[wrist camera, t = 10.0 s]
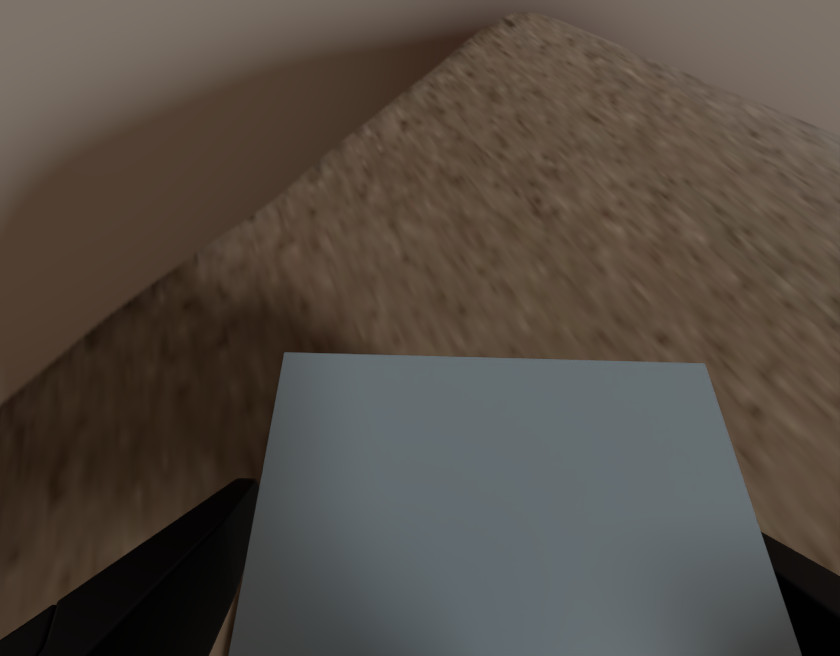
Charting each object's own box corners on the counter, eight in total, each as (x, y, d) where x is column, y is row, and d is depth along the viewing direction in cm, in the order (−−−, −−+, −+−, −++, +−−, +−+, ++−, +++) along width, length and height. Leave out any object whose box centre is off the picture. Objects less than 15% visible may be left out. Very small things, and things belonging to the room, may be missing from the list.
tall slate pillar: (523, 650, 14) (951, 1108, 3) (350, 649, 14) (141, 1127, 3) (508, 469, 16) (705, 363, 6) (364, 466, 16) (284, 352, 6)
